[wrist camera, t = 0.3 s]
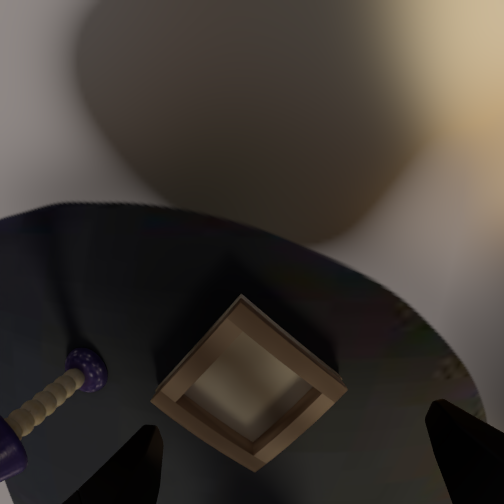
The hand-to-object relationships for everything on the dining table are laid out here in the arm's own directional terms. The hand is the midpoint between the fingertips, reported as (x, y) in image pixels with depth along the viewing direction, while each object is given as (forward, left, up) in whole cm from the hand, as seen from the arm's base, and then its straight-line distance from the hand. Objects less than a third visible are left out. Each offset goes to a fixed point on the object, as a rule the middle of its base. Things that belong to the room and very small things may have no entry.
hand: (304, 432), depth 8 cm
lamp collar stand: (-5, -2, -15) cm, 16 cm away
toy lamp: (-15, +9, -16) cm, 23 cm away
